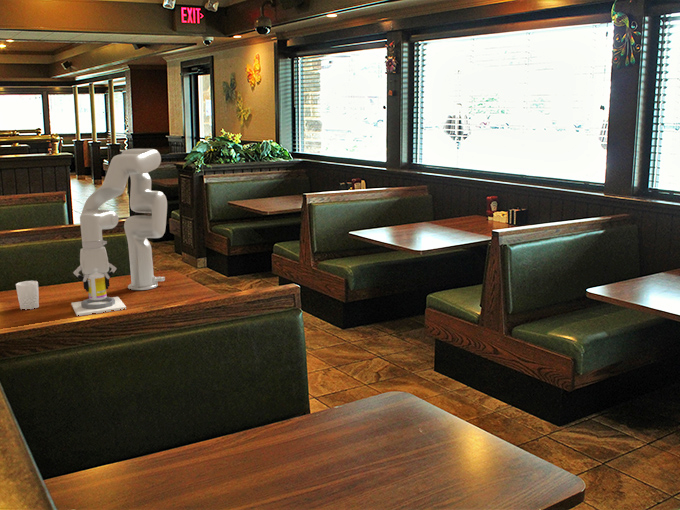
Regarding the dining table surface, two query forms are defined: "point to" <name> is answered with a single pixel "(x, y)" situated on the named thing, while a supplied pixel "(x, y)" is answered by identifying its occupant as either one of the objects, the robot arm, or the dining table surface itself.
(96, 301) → the mount board
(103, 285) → the supplement bottle
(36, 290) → the white cup
